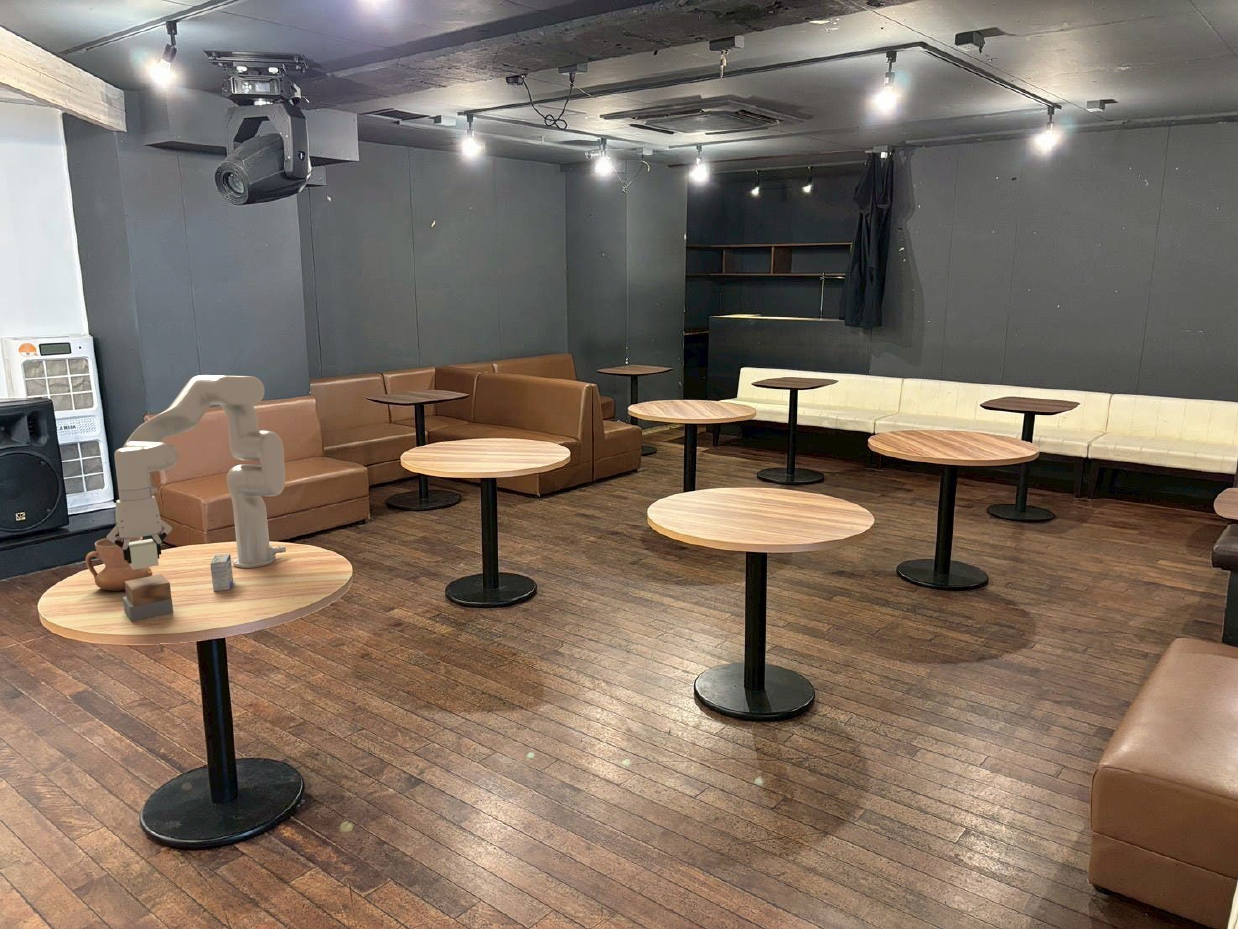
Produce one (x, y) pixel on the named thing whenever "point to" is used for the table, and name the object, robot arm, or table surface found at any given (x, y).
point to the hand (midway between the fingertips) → (143, 559)
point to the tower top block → (148, 590)
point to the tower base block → (147, 609)
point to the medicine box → (221, 572)
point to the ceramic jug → (114, 566)
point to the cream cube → (143, 554)
